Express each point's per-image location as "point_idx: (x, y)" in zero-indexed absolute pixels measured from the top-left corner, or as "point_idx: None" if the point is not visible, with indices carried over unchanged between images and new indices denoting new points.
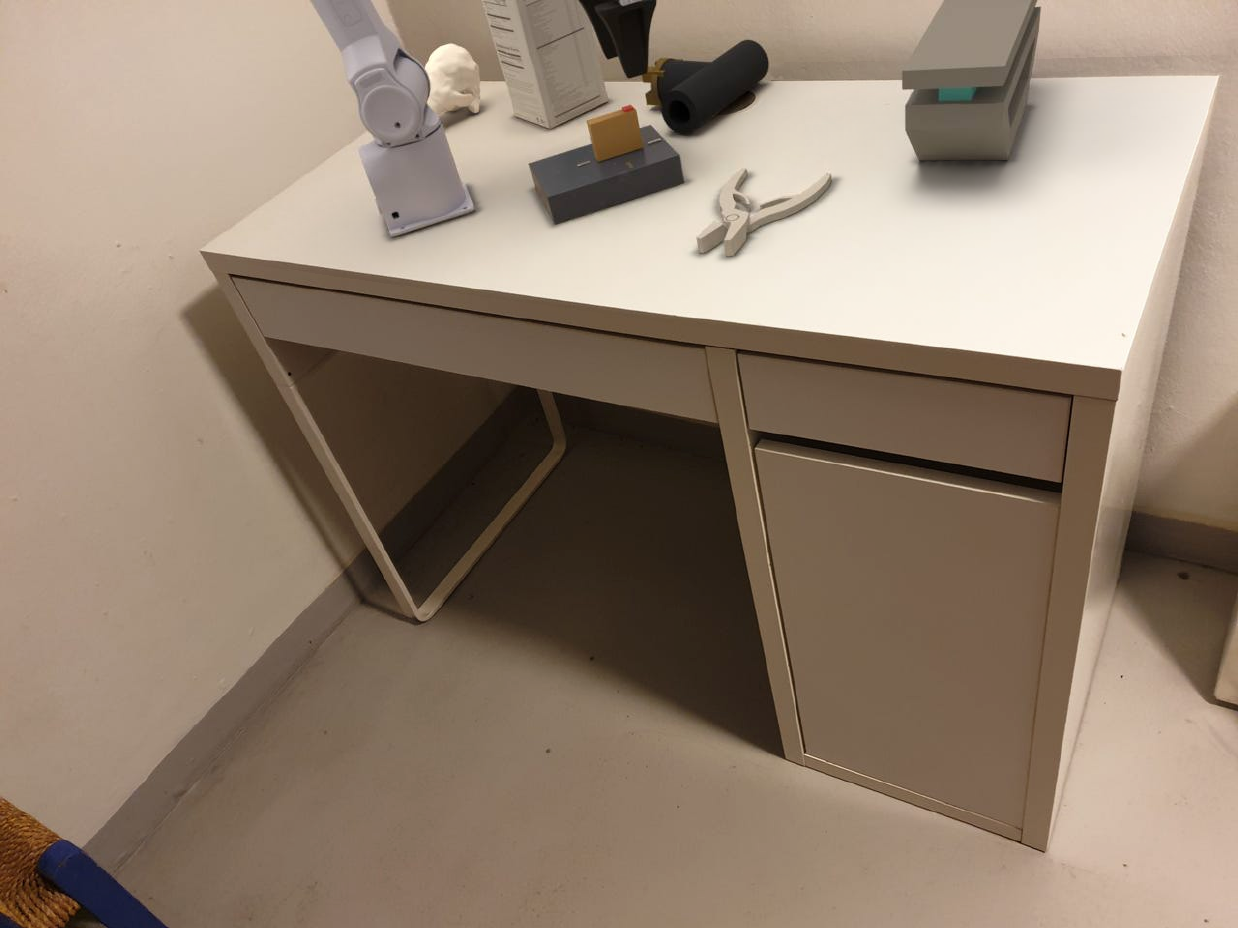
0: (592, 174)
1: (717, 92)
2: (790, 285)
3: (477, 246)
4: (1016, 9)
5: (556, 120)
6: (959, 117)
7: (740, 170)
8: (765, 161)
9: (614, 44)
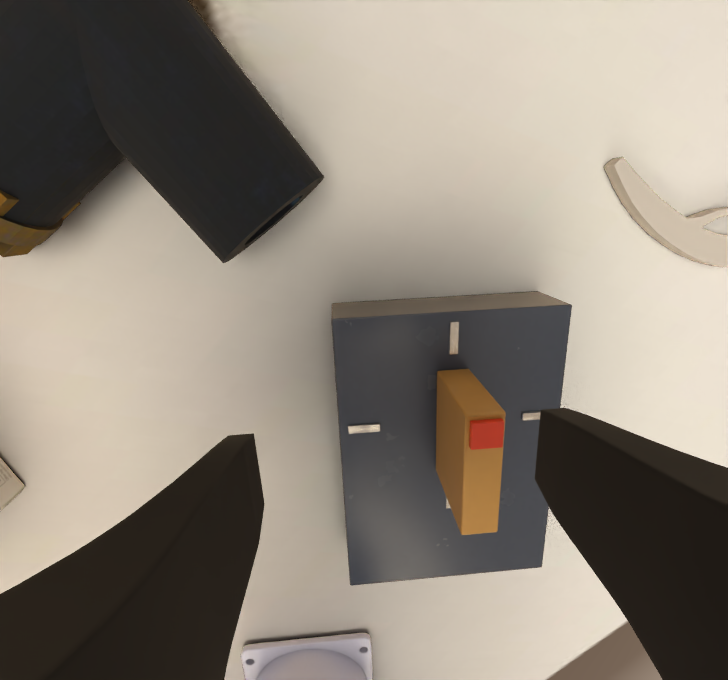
0: (512, 486)
1: (234, 66)
2: None
3: (495, 627)
4: None
5: (3, 479)
6: None
7: (621, 173)
8: (577, 90)
9: (630, 617)
